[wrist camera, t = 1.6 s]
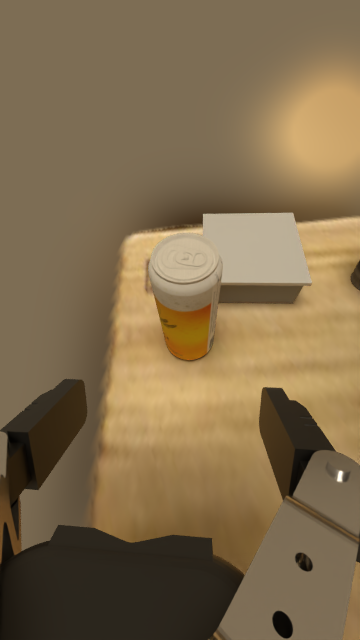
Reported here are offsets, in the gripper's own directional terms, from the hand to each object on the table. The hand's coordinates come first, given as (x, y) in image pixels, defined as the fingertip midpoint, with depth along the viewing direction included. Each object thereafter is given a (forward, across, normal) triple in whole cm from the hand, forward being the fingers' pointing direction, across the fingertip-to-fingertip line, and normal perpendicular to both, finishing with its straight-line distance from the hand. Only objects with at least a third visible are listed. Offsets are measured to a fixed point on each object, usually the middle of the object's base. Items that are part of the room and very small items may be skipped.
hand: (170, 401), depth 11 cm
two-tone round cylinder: (+21, 0, +4) cm, 21 cm away
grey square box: (+29, -8, -4) cm, 30 cm away
